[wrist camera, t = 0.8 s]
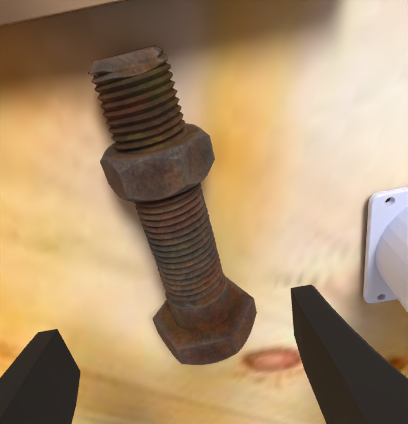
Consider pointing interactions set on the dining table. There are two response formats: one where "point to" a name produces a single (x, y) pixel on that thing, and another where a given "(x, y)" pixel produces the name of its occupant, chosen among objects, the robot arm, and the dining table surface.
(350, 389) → the robot arm
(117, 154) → the bolt
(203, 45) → the dining table surface
